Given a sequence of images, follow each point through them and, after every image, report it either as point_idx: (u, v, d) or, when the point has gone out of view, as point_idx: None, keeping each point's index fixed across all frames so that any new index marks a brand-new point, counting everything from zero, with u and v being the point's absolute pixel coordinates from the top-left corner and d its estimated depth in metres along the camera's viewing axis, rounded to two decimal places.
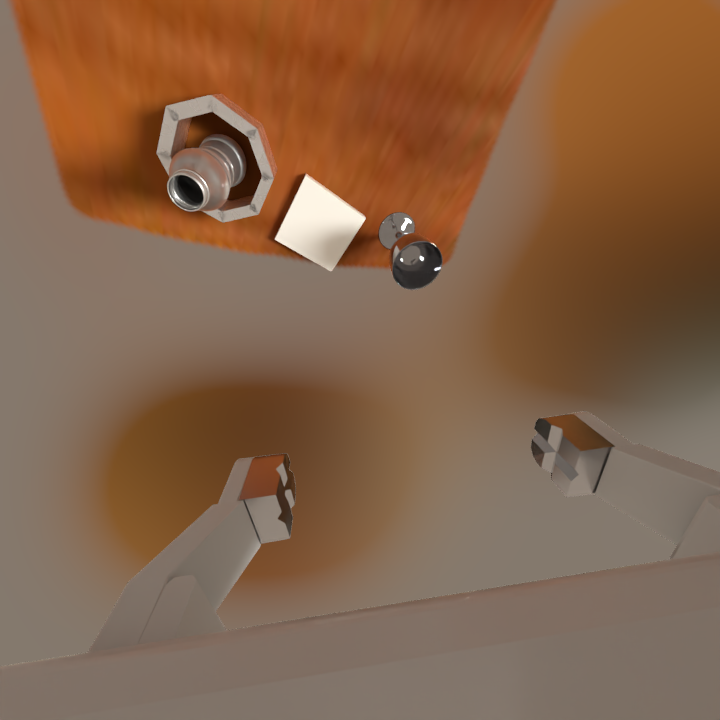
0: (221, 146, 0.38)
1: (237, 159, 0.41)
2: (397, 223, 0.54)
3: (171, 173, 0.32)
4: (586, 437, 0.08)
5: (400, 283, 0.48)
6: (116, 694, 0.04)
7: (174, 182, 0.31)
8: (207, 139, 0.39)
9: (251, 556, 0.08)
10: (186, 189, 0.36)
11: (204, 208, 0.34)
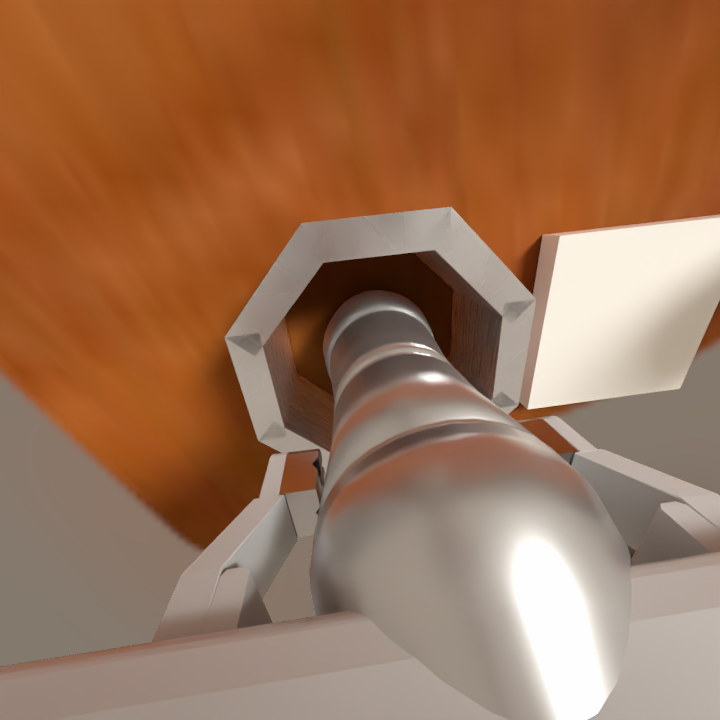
0: (384, 328, 0.12)
1: (421, 324, 0.14)
2: None
3: None
4: (551, 442, 0.08)
5: None
6: (116, 694, 0.04)
7: None
8: (335, 333, 0.15)
9: (289, 550, 0.08)
10: None
11: None
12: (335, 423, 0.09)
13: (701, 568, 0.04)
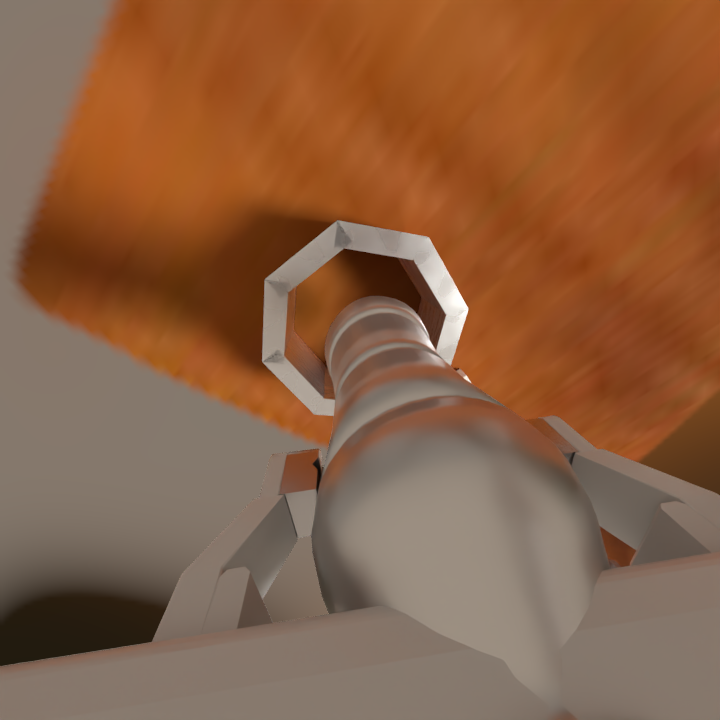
0: (381, 328, 0.13)
1: (416, 325, 0.15)
2: None
3: None
4: None
5: None
6: (116, 694, 0.04)
7: None
8: (335, 335, 0.15)
9: (289, 550, 0.08)
10: None
11: None
12: (335, 412, 0.10)
13: (701, 568, 0.04)
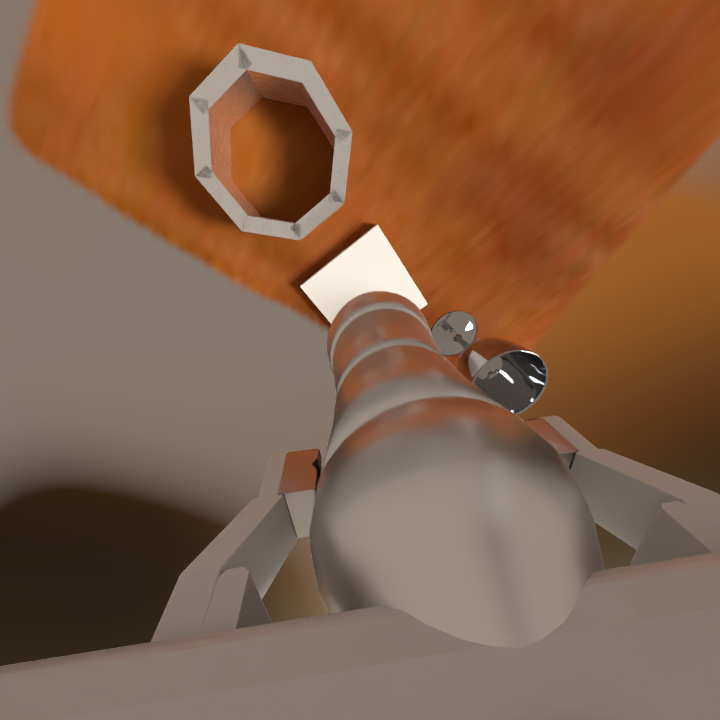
0: (382, 324, 0.13)
1: (418, 322, 0.15)
2: (459, 324, 0.41)
3: None
4: (552, 441, 0.08)
5: None
6: (116, 694, 0.04)
7: None
8: (337, 331, 0.15)
9: (289, 550, 0.08)
10: None
11: None
12: (335, 410, 0.10)
13: (701, 568, 0.04)
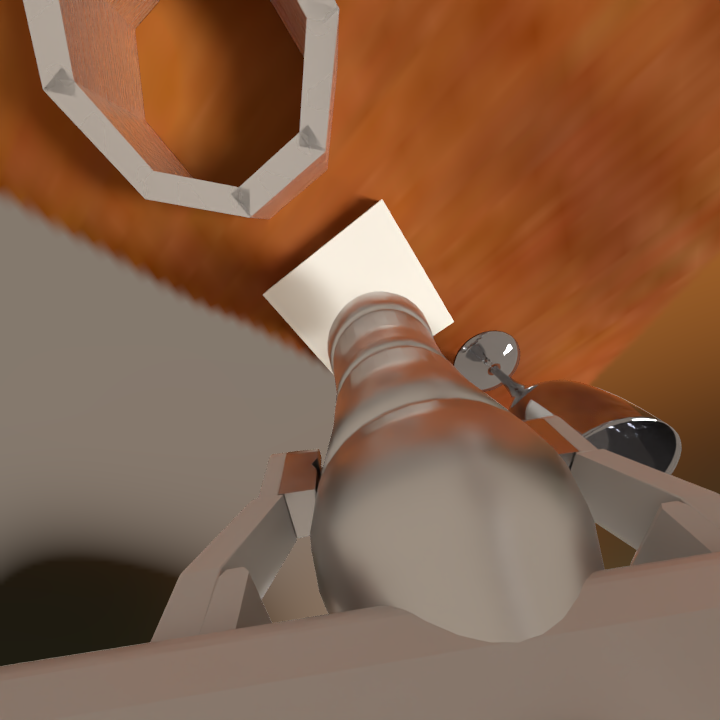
0: (383, 325, 0.13)
1: (419, 322, 0.15)
2: (496, 349, 0.29)
3: None
4: (552, 442, 0.08)
5: None
6: (116, 694, 0.04)
7: None
8: (338, 331, 0.15)
9: (288, 550, 0.08)
10: None
11: None
12: (336, 410, 0.10)
13: (701, 568, 0.04)
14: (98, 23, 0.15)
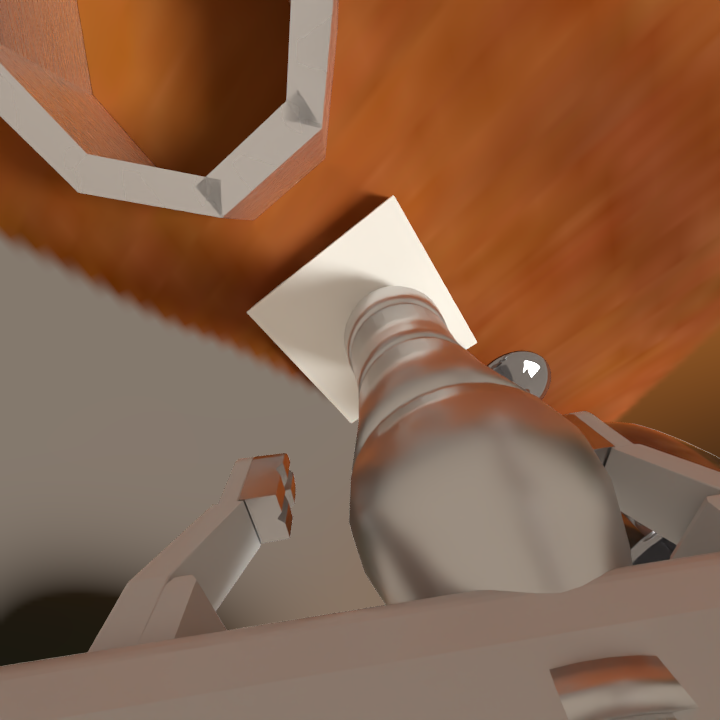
0: (403, 318, 0.13)
1: (436, 316, 0.15)
2: (524, 373, 0.25)
3: (387, 603, 0.06)
4: (586, 437, 0.08)
5: None
6: (116, 694, 0.04)
7: None
8: (356, 324, 0.16)
9: (251, 556, 0.08)
10: None
11: None
12: (362, 397, 0.11)
13: (701, 568, 0.04)
14: None
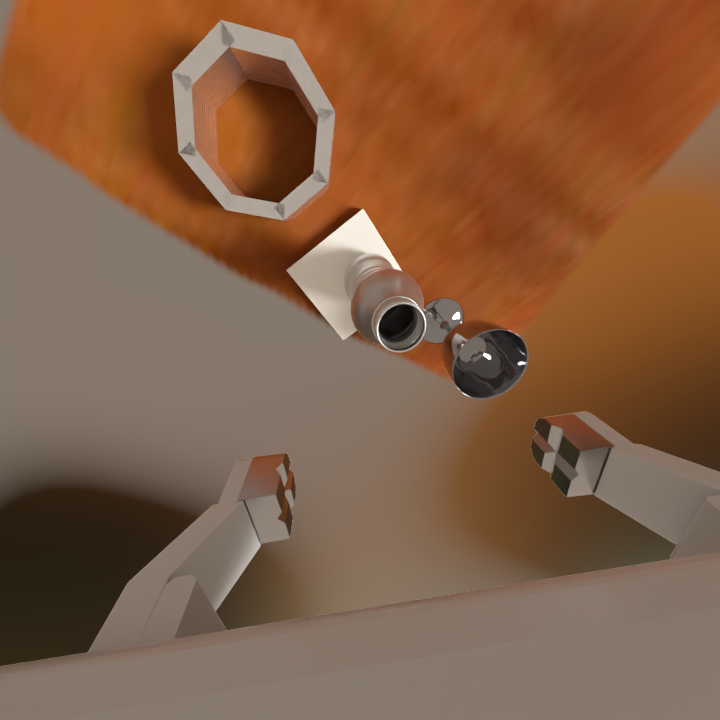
0: (371, 263, 0.30)
1: (388, 265, 0.32)
2: (445, 311, 0.42)
3: (361, 321, 0.23)
4: (586, 436, 0.08)
5: (453, 382, 0.31)
6: (116, 694, 0.04)
7: None
8: (350, 270, 0.33)
9: (251, 556, 0.08)
10: None
11: None
12: (354, 289, 0.28)
13: (701, 568, 0.04)
14: (204, 114, 0.28)
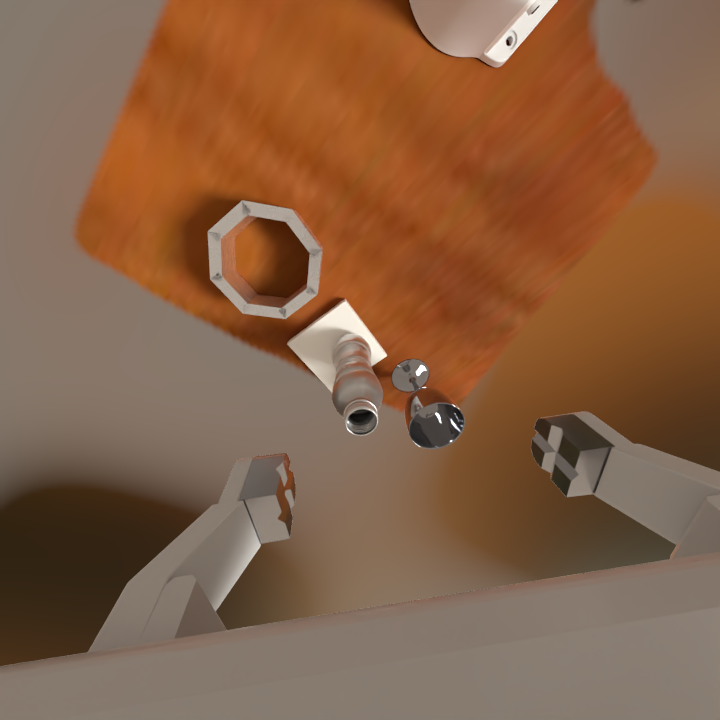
0: (350, 350, 0.41)
1: (363, 347, 0.43)
2: (413, 369, 0.52)
3: (338, 408, 0.34)
4: (586, 437, 0.08)
5: (412, 436, 0.42)
6: (116, 694, 0.04)
7: None
8: (335, 350, 0.44)
9: (251, 556, 0.08)
10: None
11: None
12: (336, 374, 0.38)
13: (701, 568, 0.04)
14: (227, 248, 0.39)
